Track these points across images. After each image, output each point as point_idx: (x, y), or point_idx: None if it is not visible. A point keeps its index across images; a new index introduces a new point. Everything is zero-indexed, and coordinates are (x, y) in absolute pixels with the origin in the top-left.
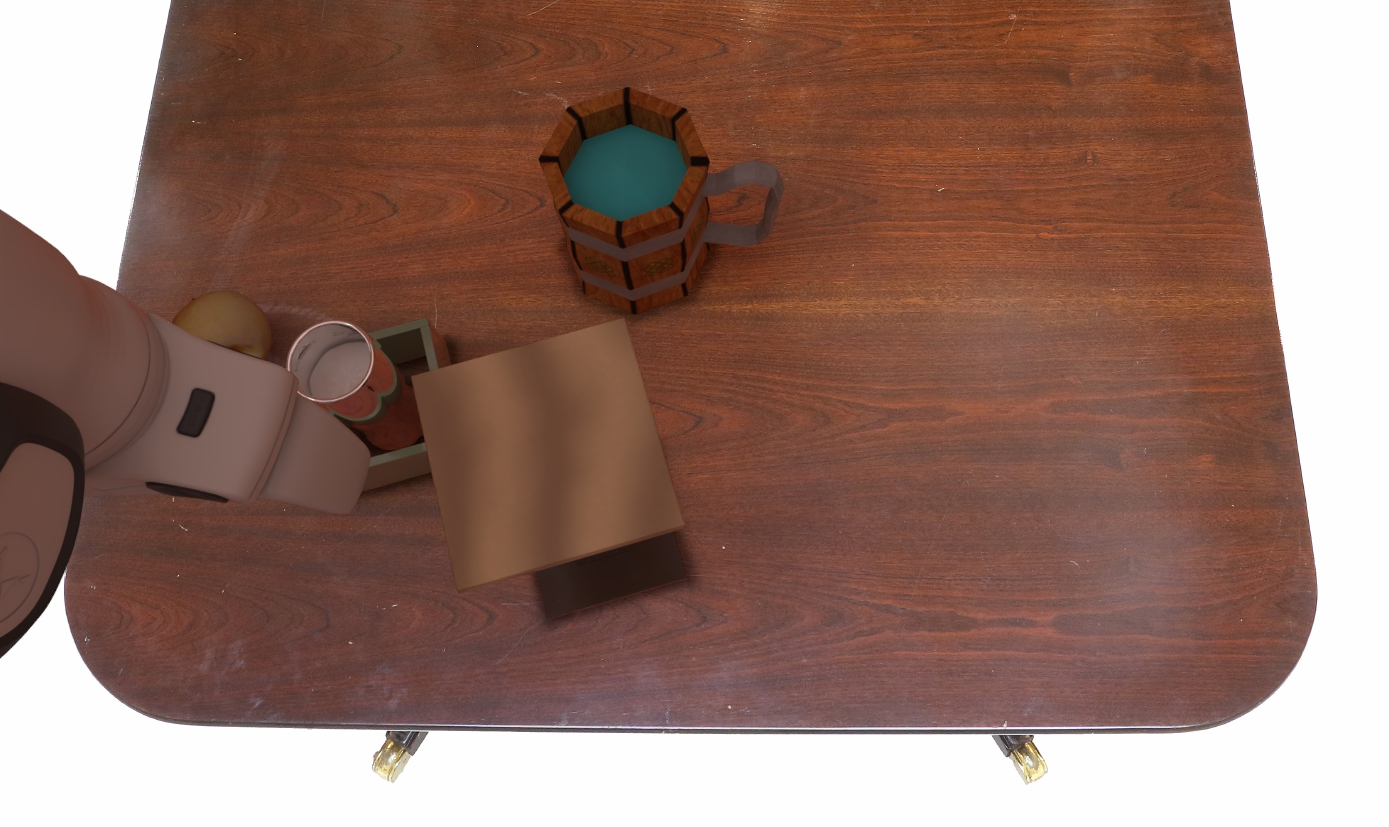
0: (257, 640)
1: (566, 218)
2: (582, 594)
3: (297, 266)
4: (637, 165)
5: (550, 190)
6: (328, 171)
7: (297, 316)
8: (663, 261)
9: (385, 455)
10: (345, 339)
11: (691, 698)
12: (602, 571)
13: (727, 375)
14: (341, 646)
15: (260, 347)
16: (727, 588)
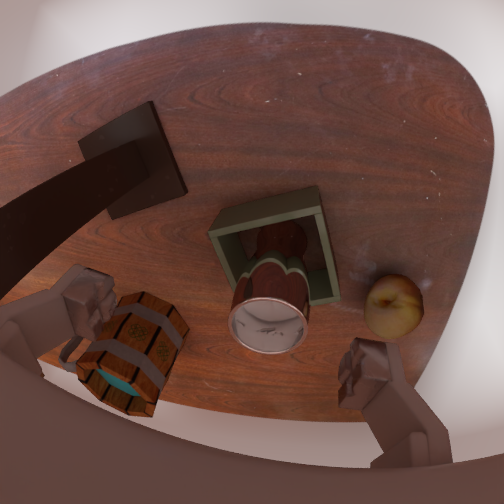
0: (374, 80)
1: (130, 376)
2: (129, 121)
3: (351, 332)
4: (115, 383)
5: (142, 391)
6: (330, 373)
7: (353, 307)
8: (105, 330)
9: (261, 224)
10: (280, 324)
11: (72, 73)
12: (120, 137)
13: (91, 255)
14: (306, 71)
15: (368, 300)
16: (64, 138)
